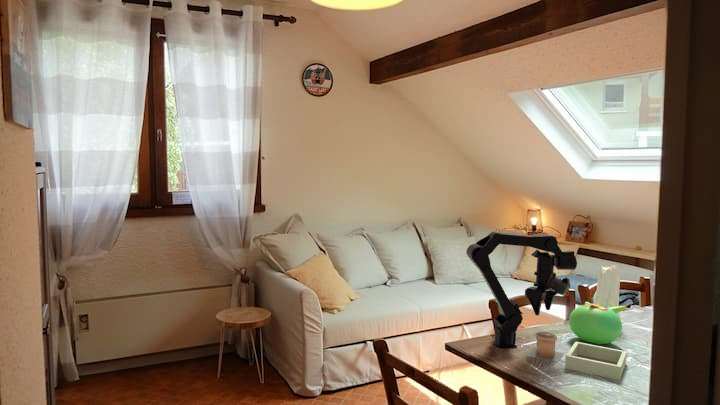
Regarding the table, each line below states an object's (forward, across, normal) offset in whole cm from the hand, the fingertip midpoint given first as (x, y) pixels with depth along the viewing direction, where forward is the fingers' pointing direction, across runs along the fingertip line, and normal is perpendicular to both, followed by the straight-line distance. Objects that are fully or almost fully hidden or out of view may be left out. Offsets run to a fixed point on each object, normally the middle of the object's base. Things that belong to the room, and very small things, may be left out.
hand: (542, 312), depth 197 cm
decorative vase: (+12, +44, -8) cm, 46 cm away
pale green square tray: (+12, -7, -21) cm, 25 cm away
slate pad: (+12, -9, -6) cm, 16 cm away
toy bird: (+12, +18, -13) cm, 25 cm away
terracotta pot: (+11, -9, -6) cm, 16 cm away
